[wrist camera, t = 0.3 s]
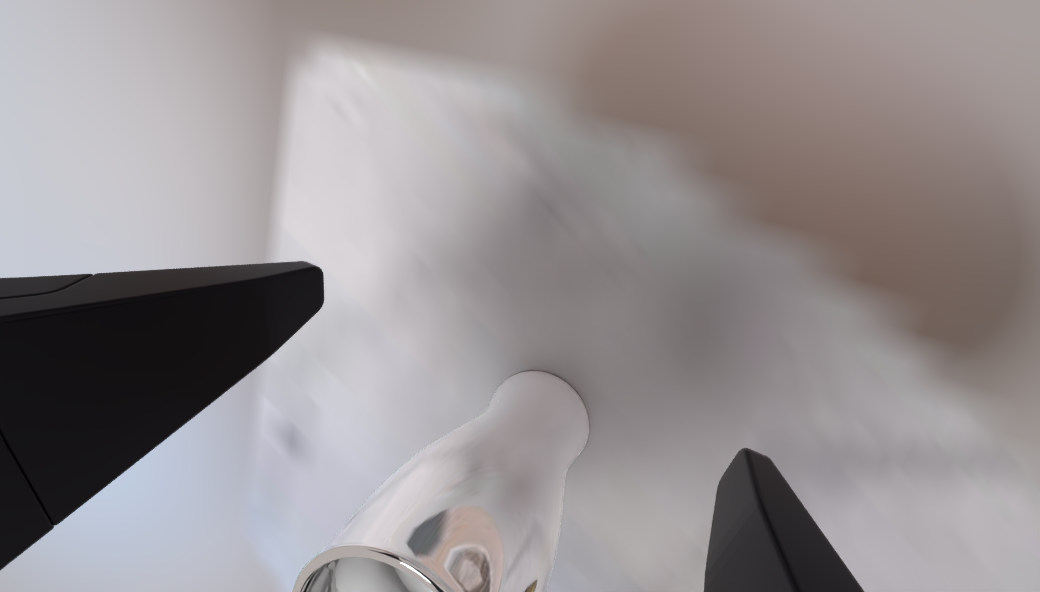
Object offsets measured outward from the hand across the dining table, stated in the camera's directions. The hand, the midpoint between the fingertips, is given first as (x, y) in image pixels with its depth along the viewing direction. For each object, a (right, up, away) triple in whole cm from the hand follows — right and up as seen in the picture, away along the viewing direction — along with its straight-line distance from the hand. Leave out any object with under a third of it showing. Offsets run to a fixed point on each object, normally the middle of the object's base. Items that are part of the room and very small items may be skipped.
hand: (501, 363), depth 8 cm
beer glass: (+2, -6, +17) cm, 18 cm away
